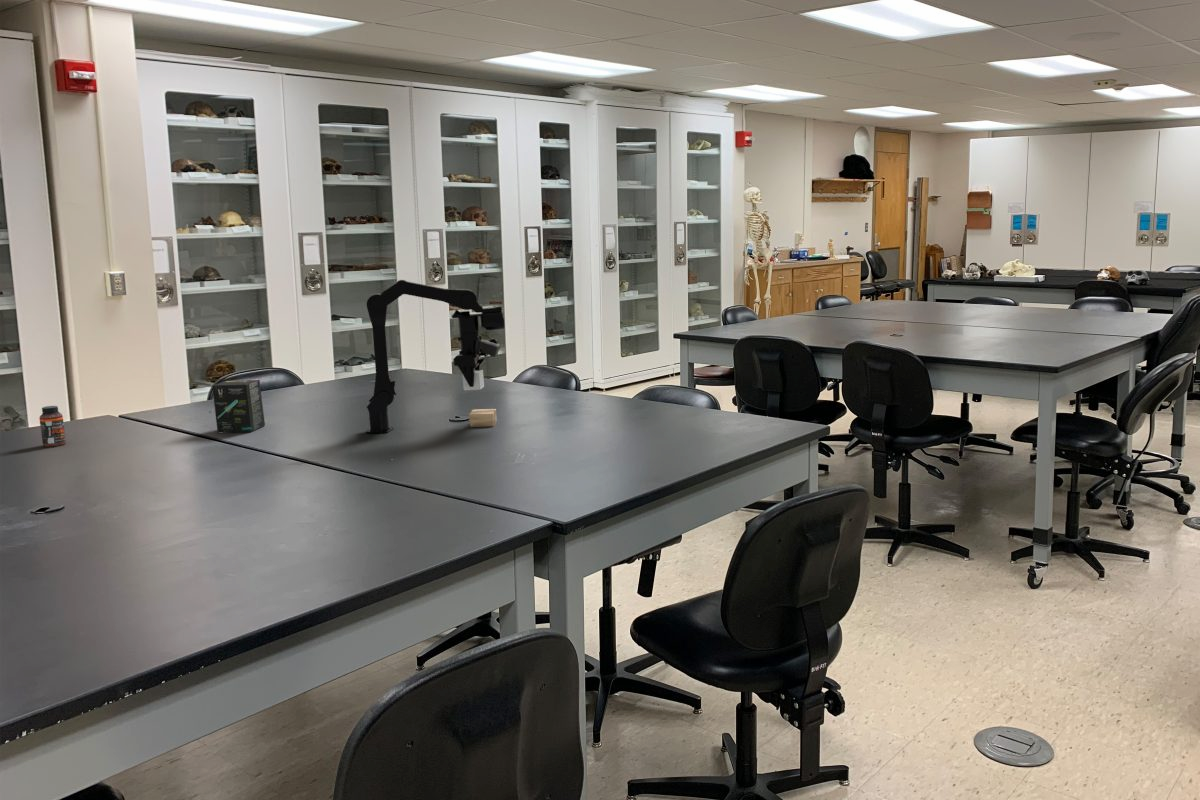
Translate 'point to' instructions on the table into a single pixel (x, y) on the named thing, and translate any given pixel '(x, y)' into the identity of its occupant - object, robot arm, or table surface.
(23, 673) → the table surface
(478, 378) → the white cube
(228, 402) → the tampon box
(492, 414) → the oak block
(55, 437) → the supplement bottle
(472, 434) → the table surface
